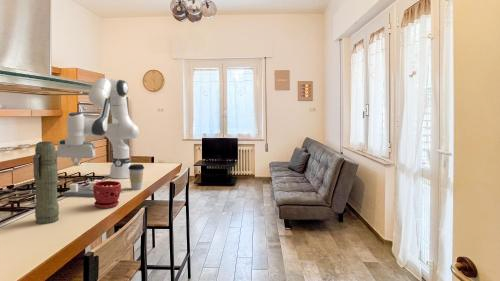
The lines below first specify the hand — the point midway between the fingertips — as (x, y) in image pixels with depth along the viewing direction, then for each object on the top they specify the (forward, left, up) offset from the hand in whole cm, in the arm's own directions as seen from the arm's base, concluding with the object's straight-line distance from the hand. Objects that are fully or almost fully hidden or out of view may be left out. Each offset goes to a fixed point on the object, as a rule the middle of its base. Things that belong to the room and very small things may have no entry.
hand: (76, 165), depth 189 cm
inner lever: (-11, +7, -15) cm, 20 cm away
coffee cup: (-19, +27, -17) cm, 38 cm away
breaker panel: (-5, +2, -17) cm, 18 cm away
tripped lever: (0, -2, -15) cm, 15 cm away
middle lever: (-5, +6, -15) cm, 17 cm away
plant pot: (+19, +25, -17) cm, 36 cm away
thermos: (+43, +8, -17) cm, 47 cm away
